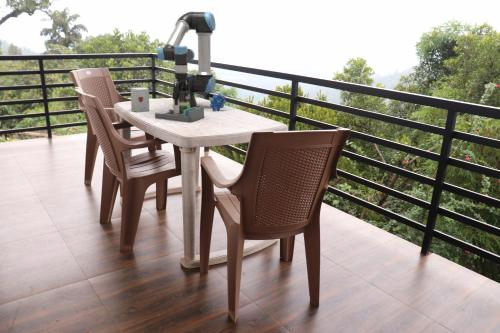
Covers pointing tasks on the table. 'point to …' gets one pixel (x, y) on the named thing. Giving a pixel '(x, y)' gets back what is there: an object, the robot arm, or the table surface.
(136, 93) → the supplement box
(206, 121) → the table surface
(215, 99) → the grapes
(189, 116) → the lane
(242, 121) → the table surface
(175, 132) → the table surface
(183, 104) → the coffee can
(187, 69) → the robot arm
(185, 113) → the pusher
